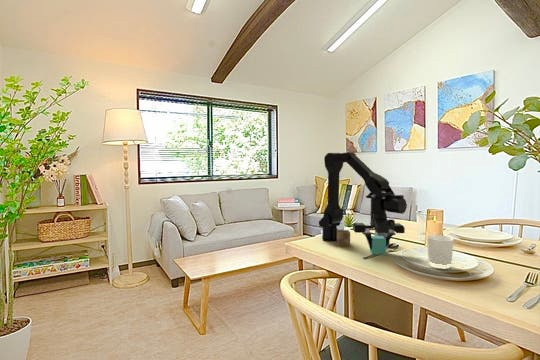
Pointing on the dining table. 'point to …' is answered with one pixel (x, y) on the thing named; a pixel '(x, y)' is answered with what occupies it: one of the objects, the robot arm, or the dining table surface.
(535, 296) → the dining table surface
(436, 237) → the white cup
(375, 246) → the teal block
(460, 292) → the dining table surface
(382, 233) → the grey block
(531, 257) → the dining table surface
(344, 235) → the walnut block
